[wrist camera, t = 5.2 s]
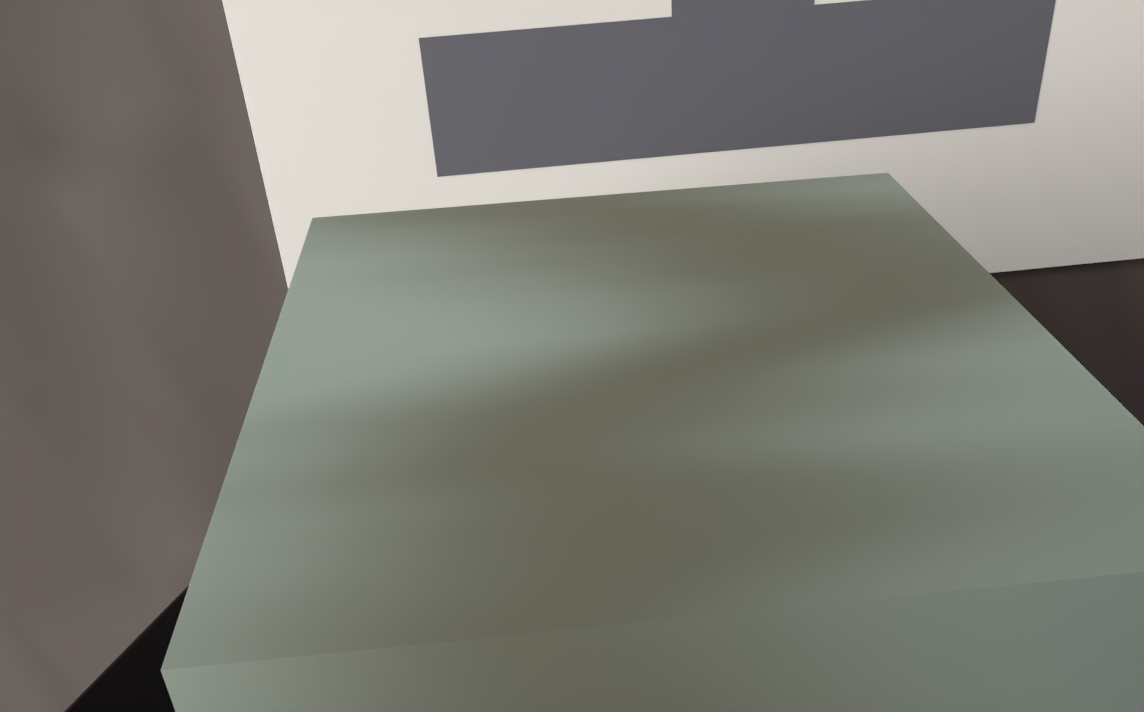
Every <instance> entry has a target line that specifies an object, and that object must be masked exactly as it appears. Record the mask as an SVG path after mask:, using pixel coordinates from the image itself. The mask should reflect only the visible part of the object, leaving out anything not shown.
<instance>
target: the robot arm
mask: <svg viewBox="0 0 1144 712" xmlns="http://www.w3.org/2000/svg"><path fill="white" fill-rule="evenodd" d="M188 587H189V585H188V586H187V588H186V589H185V590H184V591H183V592H182V593H181V594H180V595H179V596H178V597H177V598H176V599H175V600H174V601H173V602H172V603H171V604H170V605H169V606H168V607H167V608H166V609H165V610H164V611H163V612H162V613H161V614H160V615H159V616H158V617H157V618H156V619H155V620H154V621H153V622H152V623H151V624H150V625H149V626H148V627H147V628H146V629H145V630H144V631H143V632H142V633H141V634H140V635H139V636H138V637H137V638H136V639H135V640H134V641H133V642H132V643H131V644H130V645H129V646H128V647H127V648H126V649H125V651H124V652H123V653H122V654H121V655H120V656H119V657H118V658H117V659H116V660H115V661H114V662H113V663H112V664H111V665H110V666H109V667H108V668H107V669H106V670H105V671H104V672H103V673H102V674H101V675H100V676H99V677H98V678H97V679H96V680H95V681H94V682H93V683H92V684H91V685H90V686H89V687H88V688H87V689H86V690H85V691H84V692H83V693H82V694H81V695H80V696H79V697H78V698H77V699H76V700H75V701H74V702H73V703H72V704H71V705H70V706H69V707H68V708H67V709H66V710H65V711H64V712H175V709H174V706H173V703H172V701H171V698H170V695H169V692H168V690H167V687H166V684H165V681H164V679H163V676H162V673H161V667H162V665H163V662H164V659H165V656H166V653H167V650H168V647H169V644H170V641H171V638H172V635H173V632H174V629H175V626H176V623H177V620H178V617H179V614H180V611H181V608H182V605H183V602H184V599H185V596H186V593H187V590H188Z"/></svg>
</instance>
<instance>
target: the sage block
mask: <svg viewBox="0 0 1144 712" xmlns="http://www.w3.org/2000/svg"><path fill="white" fill-rule="evenodd" d="M161 673H162V676H163V679H164V681H165V684H166V687H167V690H168V692H169V695H170V698H171V701H172V703H173V706H174V709H175V712H1144V426H1143V425H1142V424H1141V423H1140V422H1139V421H1138V420H1137V419H1136V418H1135V417H1134V416H1133V415H1132V414H1131V413H1130V412H1129V411H1128V410H1127V409H1126V408H1125V407H1124V406H1123V405H1122V404H1121V403H1120V402H1119V401H1118V400H1117V399H1116V398H1115V397H1114V396H1113V395H1112V394H1111V393H1110V392H1109V391H1108V390H1107V389H1106V388H1105V387H1104V386H1103V385H1102V384H1101V383H1100V382H1099V381H1098V380H1097V379H1096V378H1095V377H1094V376H1093V375H1092V374H1091V373H1089V372H1088V371H1087V370H1086V369H1085V368H1084V367H1083V366H1082V365H1081V364H1080V363H1079V362H1078V361H1077V360H1076V359H1075V358H1074V357H1073V356H1072V355H1071V354H1070V353H1069V352H1068V351H1067V350H1066V349H1065V348H1064V347H1063V346H1062V345H1061V344H1060V343H1059V342H1058V341H1057V340H1056V339H1055V338H1054V337H1053V336H1052V335H1051V334H1050V333H1049V332H1048V331H1047V330H1046V329H1045V328H1044V327H1043V326H1042V325H1041V324H1040V323H1039V322H1038V321H1037V320H1036V319H1035V318H1034V317H1033V316H1032V315H1031V314H1030V313H1029V312H1028V311H1027V310H1026V309H1025V308H1024V307H1023V306H1022V305H1021V304H1020V303H1019V302H1018V301H1017V300H1016V299H1015V298H1014V297H1013V296H1012V295H1011V294H1010V293H1009V292H1008V291H1007V290H1006V289H1005V288H1004V287H1003V286H1002V285H1001V284H1000V283H999V282H998V281H997V280H996V279H995V278H994V277H993V276H992V275H991V274H990V273H989V272H988V271H987V270H986V269H985V268H984V267H983V266H982V265H981V264H979V263H978V262H977V261H976V260H975V259H974V258H973V257H972V256H971V255H970V254H969V253H968V252H967V251H966V250H965V249H964V248H963V247H962V246H961V245H960V244H959V243H958V242H957V241H956V240H955V239H954V238H953V237H952V236H951V235H950V234H949V233H948V232H947V231H946V230H945V229H944V228H943V227H942V226H941V225H940V224H939V223H938V222H937V221H936V220H935V219H934V218H933V217H932V216H931V215H930V214H929V213H928V212H927V211H926V210H925V209H924V208H923V207H922V206H921V205H920V204H919V203H918V202H917V201H916V200H915V199H914V198H913V197H912V196H911V195H910V194H909V193H908V192H907V191H906V190H905V189H904V188H903V187H902V186H901V185H900V184H899V183H898V182H897V181H896V180H895V179H894V178H893V177H892V176H891V175H890V174H889V173H878V174H865V175H853V176H840V177H827V178H814V179H802V180H789V181H776V182H763V183H750V184H738V185H725V186H712V187H699V188H687V189H674V190H661V191H648V192H636V193H623V194H610V195H597V196H585V197H572V198H559V199H546V200H534V201H521V202H508V203H495V204H482V205H470V206H457V207H444V208H431V209H419V210H406V211H393V212H380V213H368V214H355V215H342V216H329V217H317V218H312V221H311V224H310V227H309V230H308V233H307V236H306V239H305V242H304V245H303V248H302V251H301V254H300V257H299V260H298V263H297V266H296V269H295V271H294V274H293V277H292V280H291V283H290V286H289V289H288V292H287V295H286V298H285V301H284V304H283V307H282V310H281V313H280V316H279V319H278V322H277V325H276V328H275V331H274V334H273V337H272V340H271V343H270V346H269V349H268V352H267V355H266V358H265V361H264V364H263V367H262V370H261V373H260V376H259V379H258V382H257V385H256V388H255V391H254V394H253V397H252V400H251V402H250V405H249V408H248V411H247V414H246V417H245V420H244V423H243V426H242V429H241V432H240V435H239V438H238V441H237V444H236V447H235V450H234V453H233V456H232V459H231V462H230V465H229V468H228V471H227V474H226V477H225V480H224V483H223V486H222V489H221V492H220V495H219V498H218V501H217V504H216V507H215V510H214V513H213V516H212V519H211V522H210V525H209V528H208V531H207V534H206V536H205V539H204V542H203V545H202V548H201V551H200V554H199V557H198V560H197V563H196V566H195V569H194V572H193V575H192V578H191V581H190V584H189V587H188V590H187V593H186V596H185V599H184V602H183V605H182V608H181V611H180V614H179V617H178V620H177V623H176V626H175V629H174V632H173V635H172V638H171V641H170V644H169V647H168V650H167V653H166V656H165V659H164V662H163V665H162V667H161Z"/></svg>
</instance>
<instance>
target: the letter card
mask: <svg viewBox="0 0 1144 712" xmlns="http://www.w3.org/2000/svg"><path fill="white" fill-rule="evenodd" d="M222 1H223V6H224V10H225V15H226V19H227V23H228V28H229V32H230V36H231V41H232V45H233V50H234V54H235V58H236V63H237V67H238V71H239V76H240V80H241V84H242V89H243V93H244V98H245V102H246V106H247V111H248V115H249V119H250V124H251V128H252V133H253V137H254V141H255V146H256V150H257V154H258V159H259V163H260V167H261V172H262V176H263V181H264V185H265V189H266V194H267V198H268V202H269V207H270V211H271V216H272V220H273V224H274V229H275V233H276V237H277V242H278V246H279V250H280V255H281V259H282V264H283V268H284V272H285V277H286V281H287V285H288V289H289V286H290V283H291V280H292V277H293V274H294V271H295V269H296V266H297V263H298V260H299V257H300V254H301V251H302V248H303V245H304V242H305V239H306V236H307V233H308V230H309V227H310V224H311V221H312V218H317V217H329V216H342V215H355V214H368V213H380V212H393V211H406V210H419V209H431V208H444V207H457V206H470V205H482V204H495V203H508V202H521V201H534V200H546V199H559V198H572V197H585V196H597V195H610V194H623V193H636V192H648V191H661V190H674V189H687V188H699V187H712V186H725V185H738V184H750V183H763V182H776V181H789V180H802V179H814V178H827V177H840V176H853V175H865V174H878V173H889V174H890V175H891V176H892V177H893V178H894V179H895V180H896V181H897V182H898V183H899V184H900V185H901V186H902V187H903V188H904V189H905V190H906V191H907V192H908V193H909V194H910V195H911V196H912V197H913V198H914V199H915V200H916V201H917V202H918V203H919V204H920V205H921V206H922V207H923V208H924V209H925V210H926V211H927V212H928V213H929V214H930V215H931V216H932V217H933V218H934V219H935V220H936V221H937V222H938V223H939V224H940V225H941V226H942V227H943V228H944V229H945V230H946V231H947V232H948V233H949V234H950V235H951V236H952V237H953V238H954V239H955V240H956V241H957V242H958V243H959V244H960V245H961V246H962V247H963V248H964V249H965V250H966V251H967V252H968V253H969V254H970V255H971V256H972V257H973V258H974V259H975V260H976V261H977V262H978V263H979V264H981V265H982V266H983V267H984V268H985V269H986V270H987V271H988V272H989V273H996V272H1006V271H1016V270H1026V269H1037V268H1047V267H1057V266H1067V265H1078V264H1088V263H1098V262H1109V261H1119V260H1129V259H1139V258H1144V0H222Z"/></svg>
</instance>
